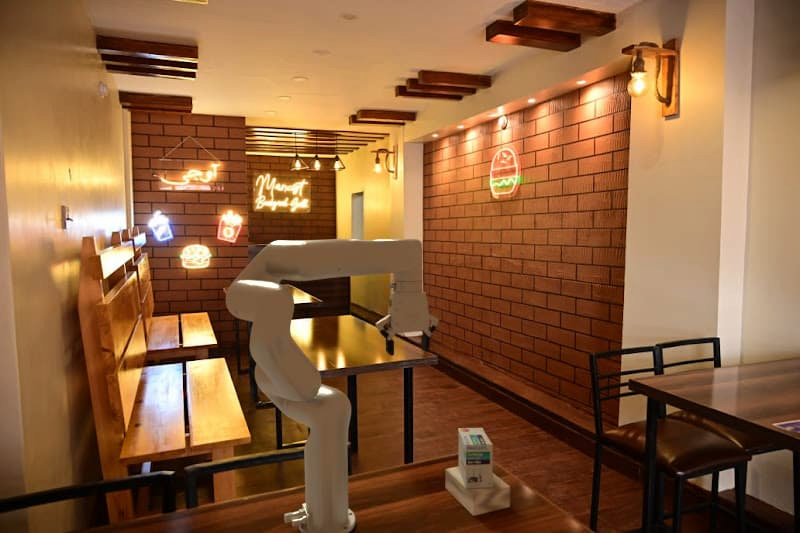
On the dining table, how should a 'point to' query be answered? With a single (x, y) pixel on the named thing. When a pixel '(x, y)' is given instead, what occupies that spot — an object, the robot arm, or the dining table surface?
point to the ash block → (477, 493)
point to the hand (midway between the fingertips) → (408, 352)
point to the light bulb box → (475, 458)
